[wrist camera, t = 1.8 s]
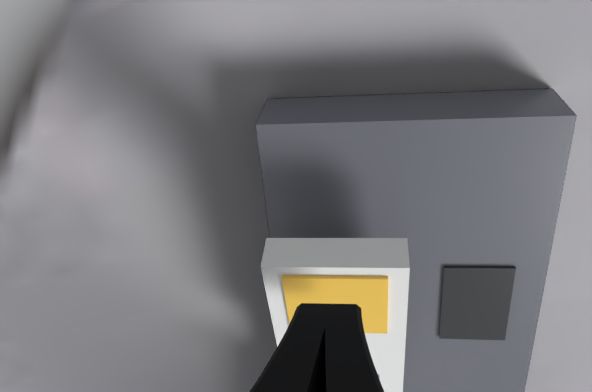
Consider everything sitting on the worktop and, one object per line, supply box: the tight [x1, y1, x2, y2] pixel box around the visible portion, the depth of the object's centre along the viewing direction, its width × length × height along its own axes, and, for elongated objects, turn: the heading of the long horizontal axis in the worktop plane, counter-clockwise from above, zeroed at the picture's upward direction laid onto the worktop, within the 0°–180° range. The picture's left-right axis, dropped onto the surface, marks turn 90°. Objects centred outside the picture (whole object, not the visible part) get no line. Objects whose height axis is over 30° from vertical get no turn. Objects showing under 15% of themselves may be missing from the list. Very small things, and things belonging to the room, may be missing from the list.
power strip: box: [256, 89, 577, 392], centre depth 19 cm, size 21×8×3 cm, turn 4°
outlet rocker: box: [261, 238, 410, 392], centre depth 16 cm, size 7×4×1 cm, turn 5°
